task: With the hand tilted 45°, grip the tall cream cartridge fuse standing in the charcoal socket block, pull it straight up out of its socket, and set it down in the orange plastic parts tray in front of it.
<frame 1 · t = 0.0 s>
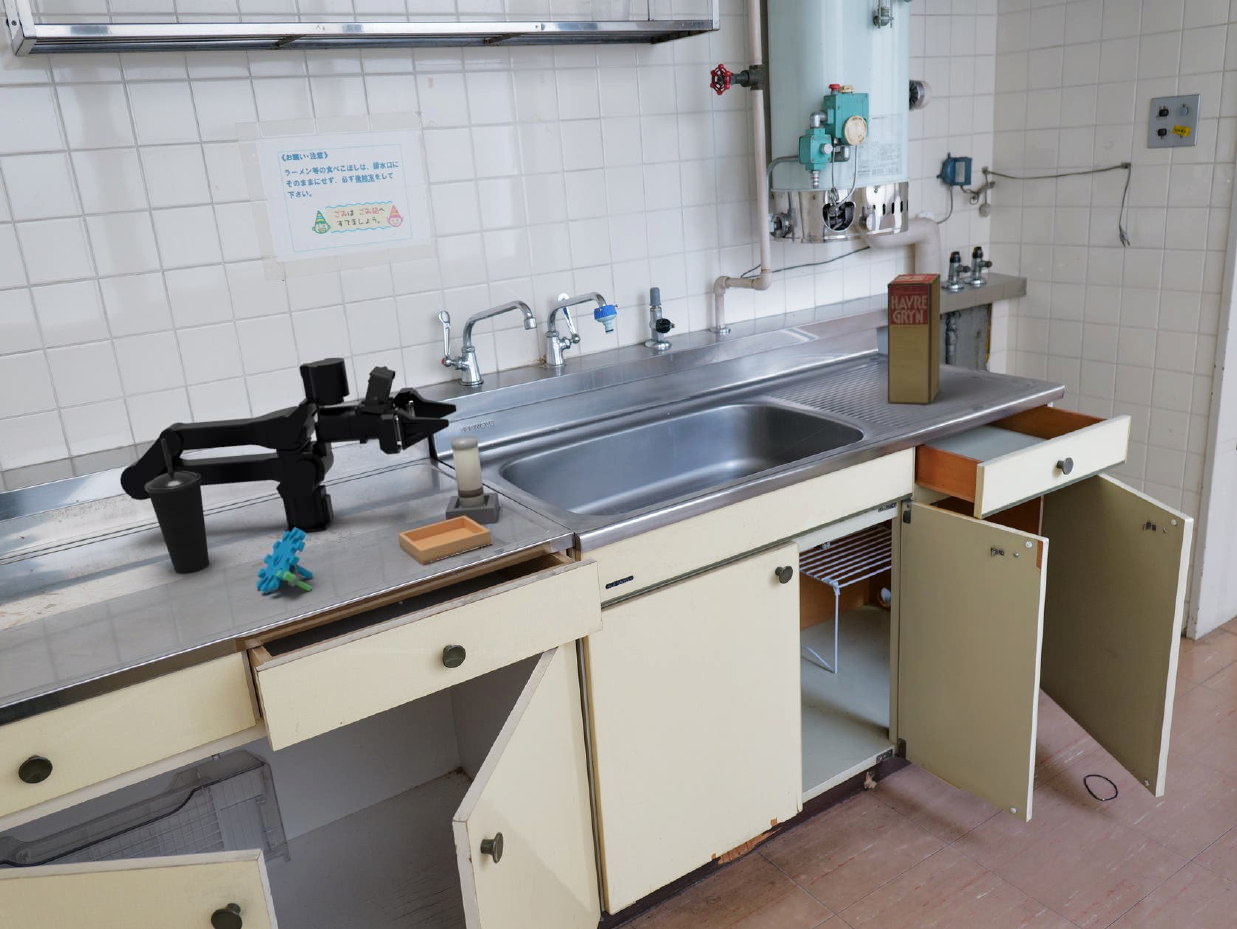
hand: (452, 415, 157), 17 cm above the counter, tool horizontal, fingers open, 9 cm apart
parts tray: (445, 546, 149), on the counter
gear: (287, 587, 139), on the counter
fuse: (469, 478, 158), in the socket block
food packaging: (913, 397, 211), on the counter
drinking cup: (192, 568, 149), on the counter
socket block: (473, 516, 160), on the counter
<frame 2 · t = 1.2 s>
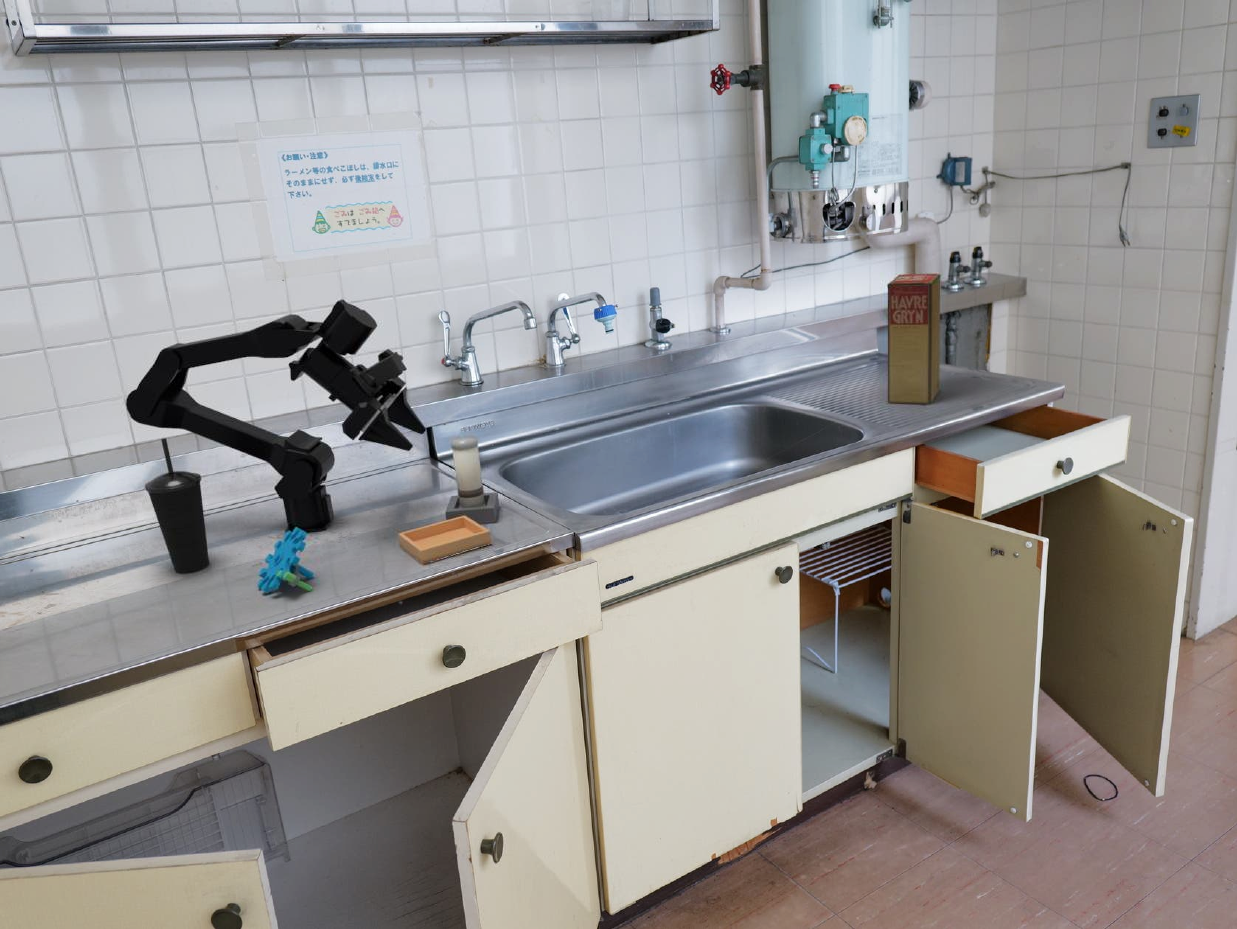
hand: (418, 440, 157), 13 cm above the counter, tool tilted 45°, fingers open, 9 cm apart
nothing on the counter moved.
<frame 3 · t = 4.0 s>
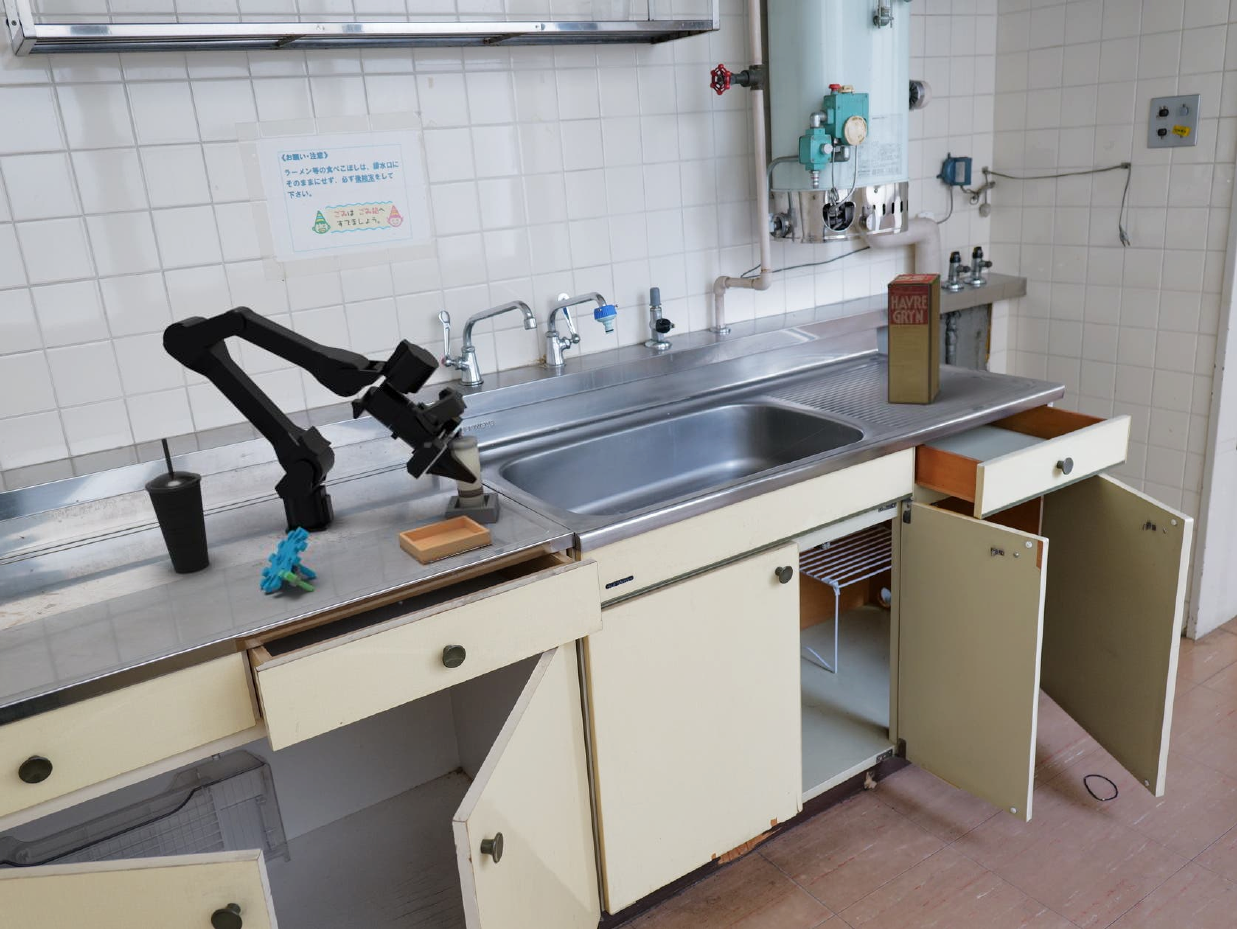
hand: (477, 477, 158), 7 cm above the counter, tool tilted 45°, fingers closed on fuse, 4 cm apart
fuse: (468, 478, 158), in the socket block, touching gripper
everything else where it was.
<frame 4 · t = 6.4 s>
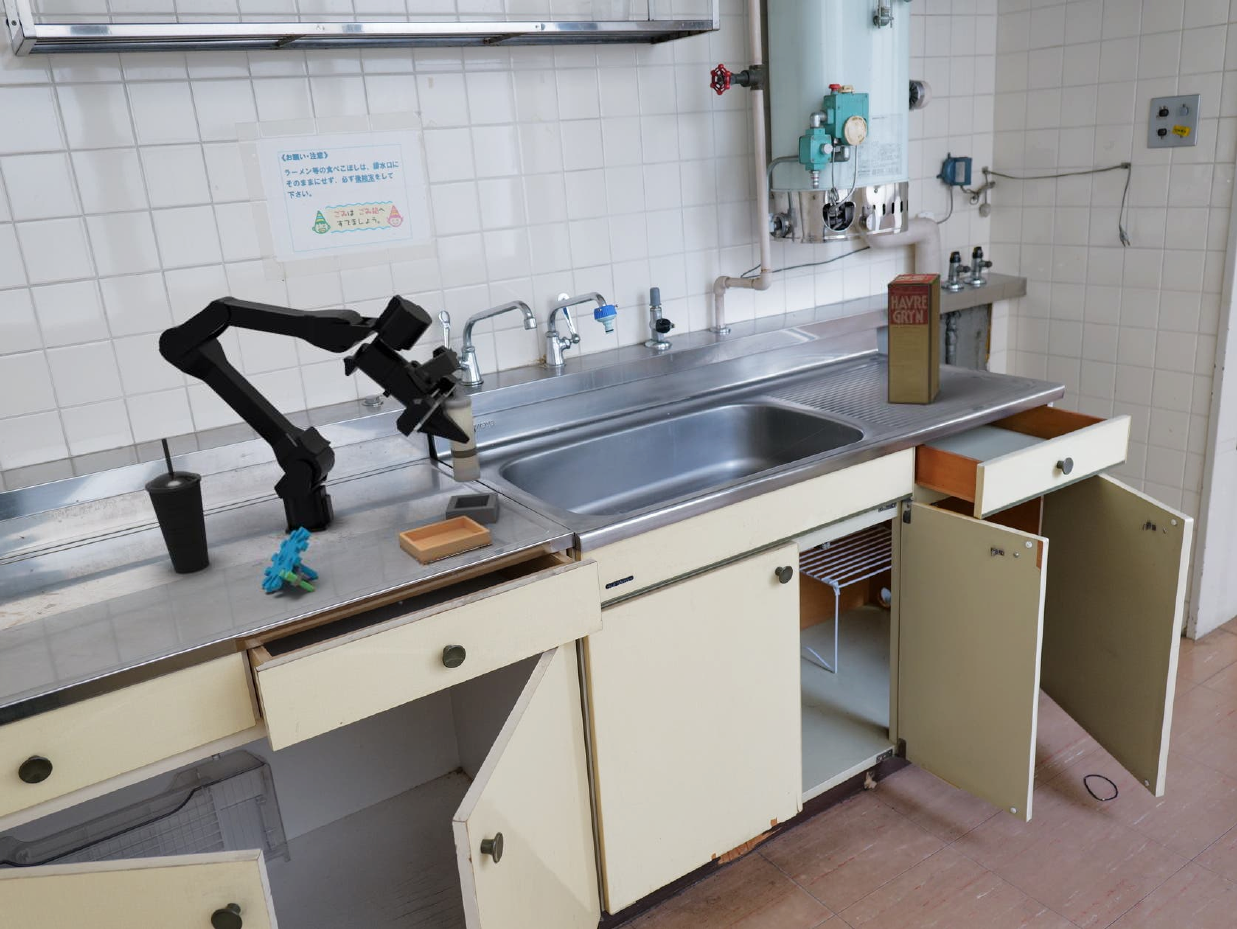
hand: (471, 437, 155), 14 cm above the counter, tool tilted 45°, fingers closed on fuse, 4 cm apart
fuse: (462, 438, 155), point 13 cm above the counter, touching gripper
everything else where it was.
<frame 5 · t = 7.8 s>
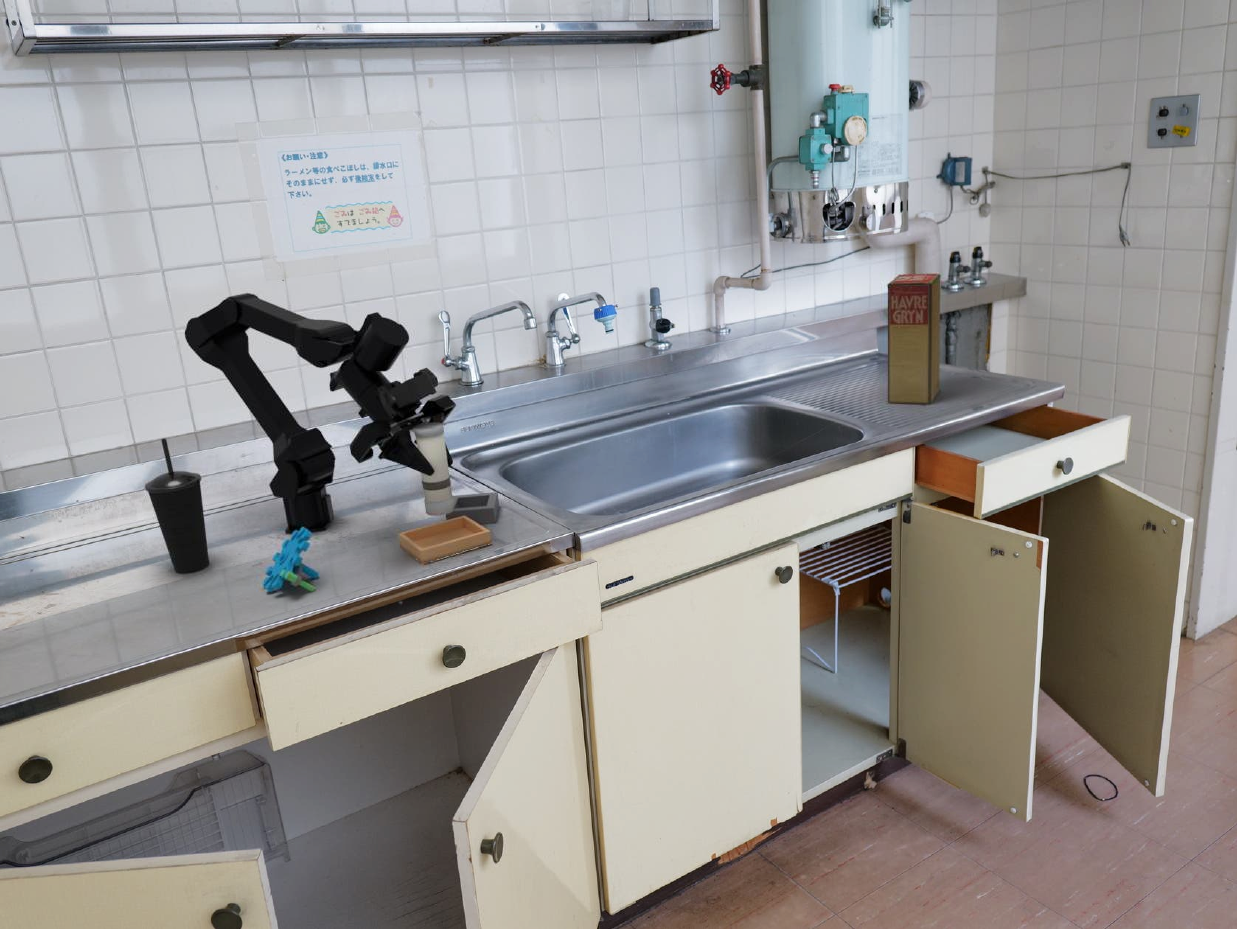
hand: (442, 469, 145), 12 cm above the counter, tool tilted 45°, fingers closed on fuse, 4 cm apart
fuse: (434, 469, 145), point 12 cm above the counter, touching gripper
everything else where it was.
when the fingers open (9 cm above the counter, at t = 8.8 s): fuse drops 1 cm, resting on parts tray.
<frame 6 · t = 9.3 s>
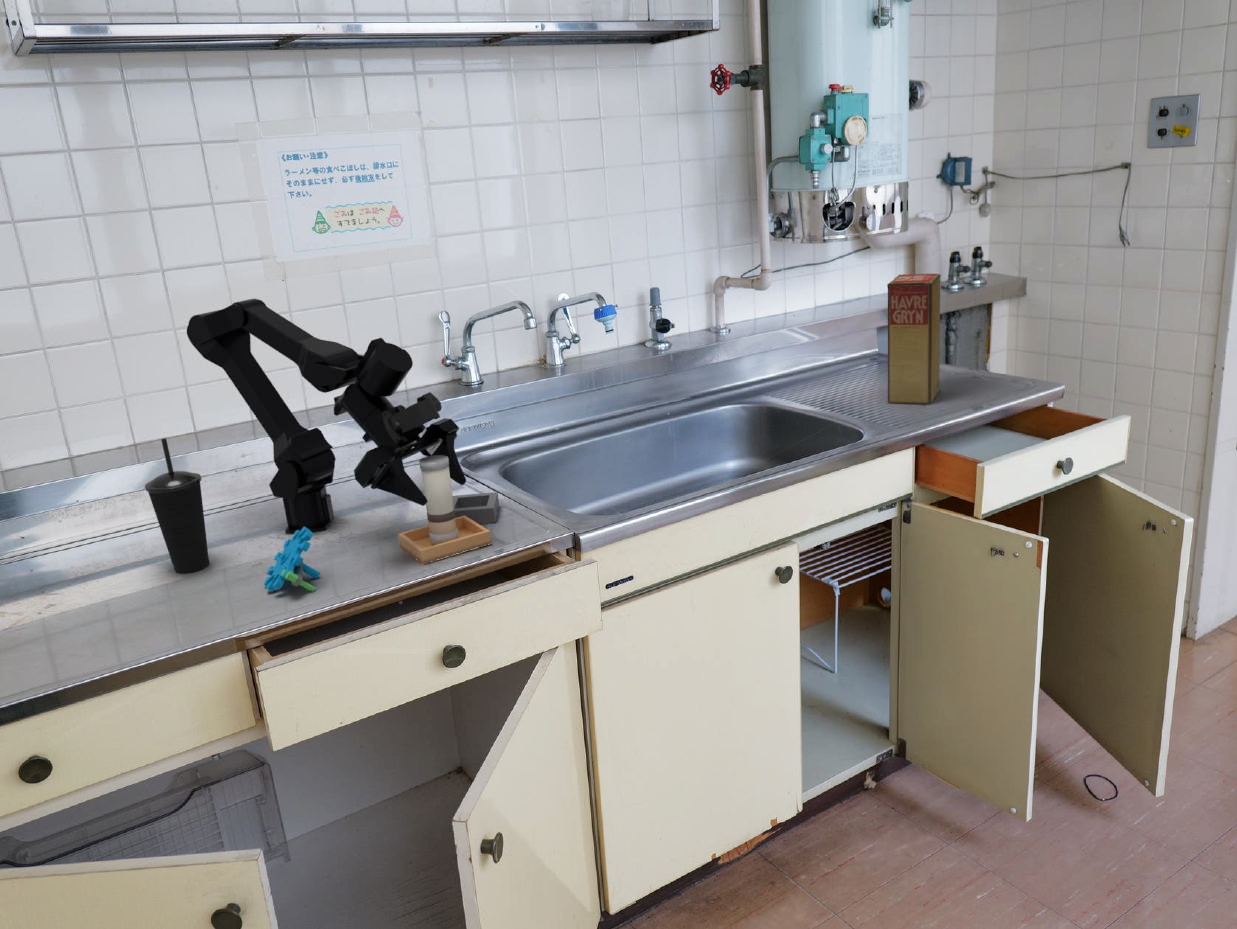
hand: (445, 493, 146), 9 cm above the counter, tool tilted 45°, fingers open, 9 cm apart
fuse: (439, 501, 147), in the parts tray, point 7 cm above the counter
everything else where it was.
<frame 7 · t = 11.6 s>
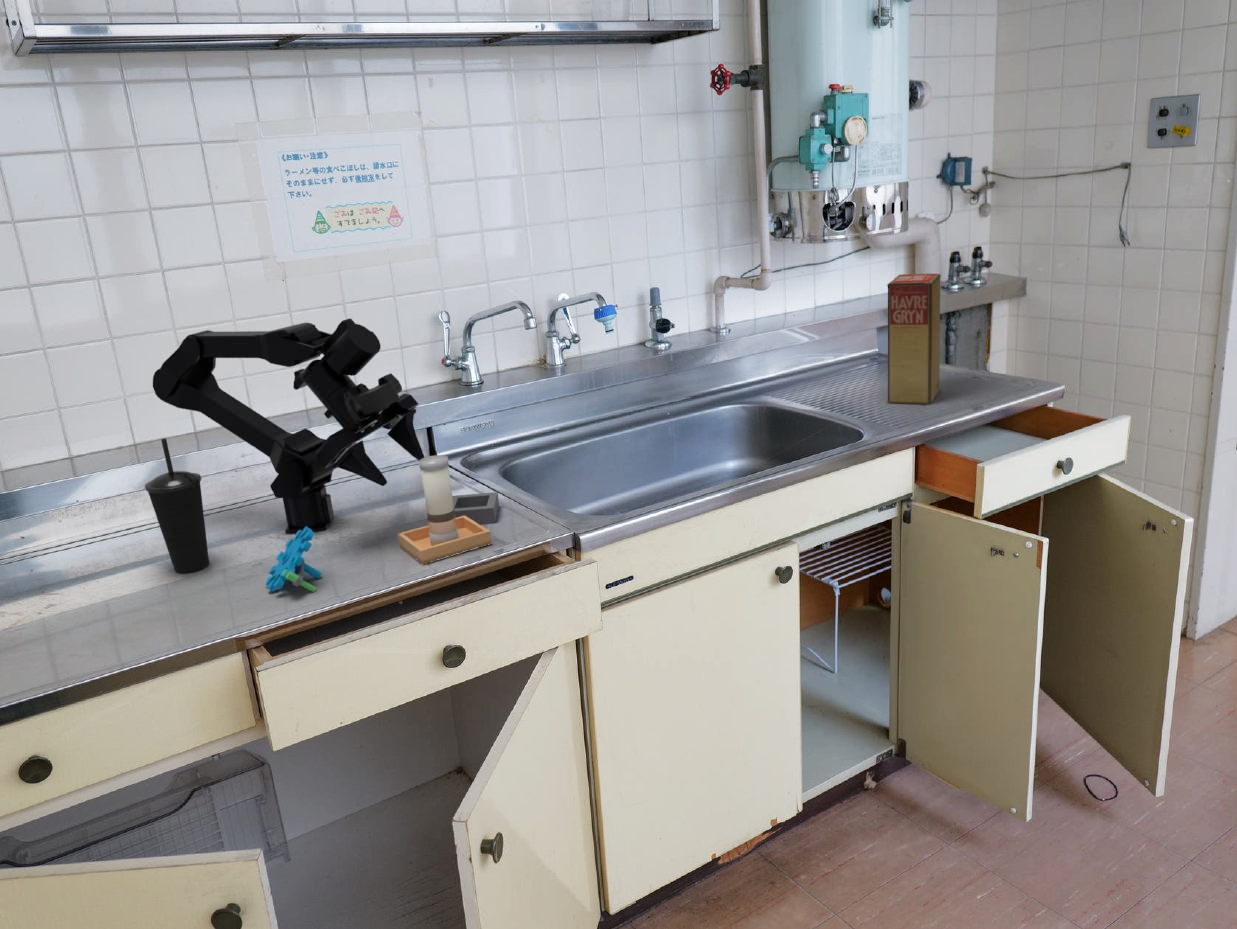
hand: (404, 471, 153), 10 cm above the counter, tool tilted 40°, fingers open, 9 cm apart
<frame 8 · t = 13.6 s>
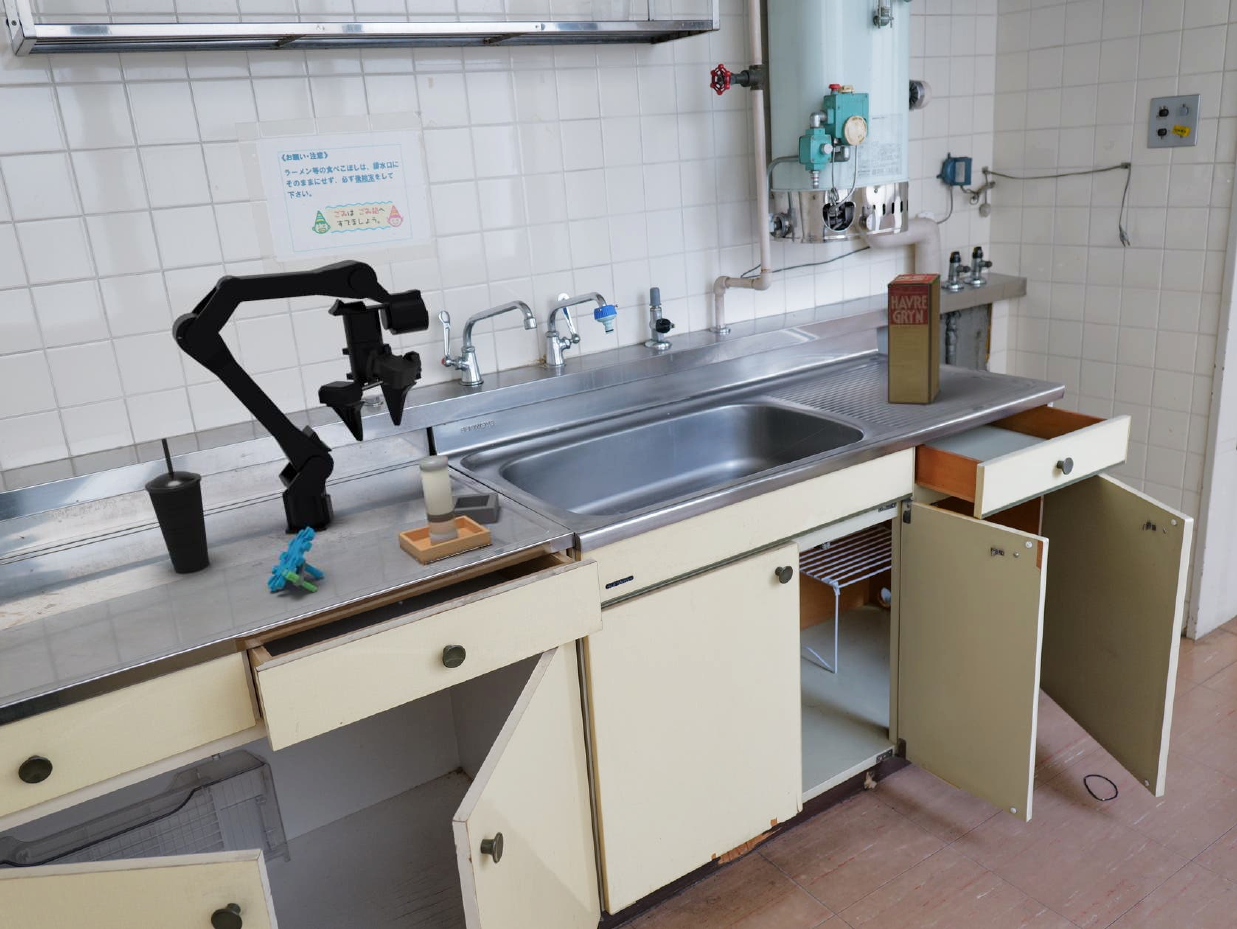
hand: (379, 433, 164), 13 cm above the counter, tool pointing down, fingers open, 9 cm apart
at the end: fuse inside the target area on the parts tray (0.0 cm from its centre), point 7.1 cm above the parts tray's base; fuse moved 12.4 cm from its start; the gripper is holding nothing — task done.
